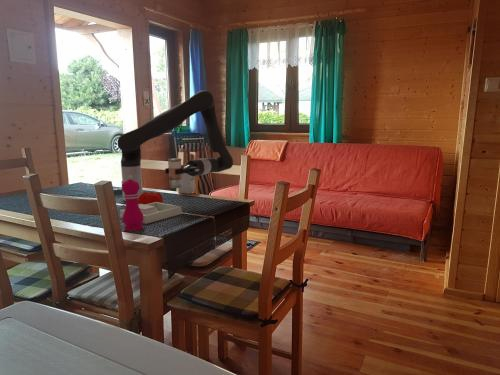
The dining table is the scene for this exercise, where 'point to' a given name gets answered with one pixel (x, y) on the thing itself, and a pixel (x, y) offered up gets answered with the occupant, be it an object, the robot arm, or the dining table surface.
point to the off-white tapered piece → (147, 209)
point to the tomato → (150, 198)
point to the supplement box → (187, 184)
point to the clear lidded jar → (174, 179)
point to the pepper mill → (132, 205)
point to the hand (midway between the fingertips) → (170, 171)
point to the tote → (159, 212)
